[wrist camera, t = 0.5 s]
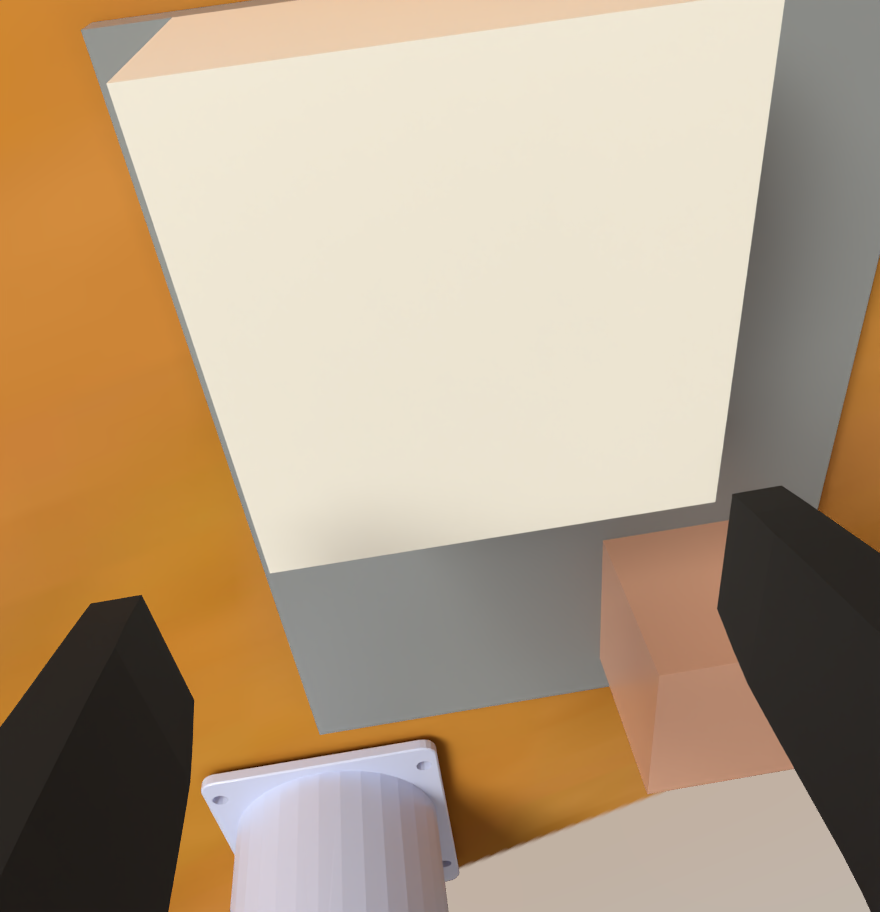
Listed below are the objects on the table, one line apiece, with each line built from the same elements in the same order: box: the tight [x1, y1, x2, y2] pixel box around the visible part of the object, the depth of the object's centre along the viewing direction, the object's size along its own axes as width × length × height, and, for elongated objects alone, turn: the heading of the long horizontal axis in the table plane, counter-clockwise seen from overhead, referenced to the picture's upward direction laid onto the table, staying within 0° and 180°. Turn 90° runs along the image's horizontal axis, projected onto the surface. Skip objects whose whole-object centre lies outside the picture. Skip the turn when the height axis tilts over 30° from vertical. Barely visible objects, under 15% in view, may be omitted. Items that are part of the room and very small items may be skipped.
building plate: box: [81, 0, 880, 735], centre depth 20 cm, size 20×15×1 cm
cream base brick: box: [106, 0, 785, 573], centre depth 14 cm, size 8×8×5 cm
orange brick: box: [600, 520, 794, 794], centre depth 21 cm, size 5×5×4 cm
